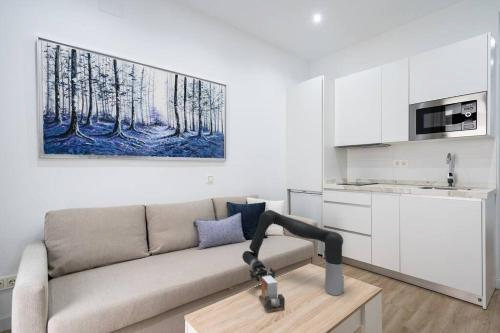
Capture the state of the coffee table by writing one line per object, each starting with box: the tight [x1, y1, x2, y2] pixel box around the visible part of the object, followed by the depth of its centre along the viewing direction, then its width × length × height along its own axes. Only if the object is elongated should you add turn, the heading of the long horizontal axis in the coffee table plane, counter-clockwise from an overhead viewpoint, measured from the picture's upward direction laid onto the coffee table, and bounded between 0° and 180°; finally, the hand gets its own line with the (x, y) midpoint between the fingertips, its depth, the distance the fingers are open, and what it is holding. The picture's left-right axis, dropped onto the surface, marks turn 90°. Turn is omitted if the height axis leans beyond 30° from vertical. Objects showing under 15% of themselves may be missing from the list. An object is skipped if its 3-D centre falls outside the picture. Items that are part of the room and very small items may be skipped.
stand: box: [258, 293, 286, 314], centre depth 126 cm, size 9×14×6 cm, turn 15°
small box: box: [261, 276, 278, 300], centre depth 128 cm, size 8×6×10 cm
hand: (266, 278), depth 134 cm, fingers open, 8 cm apart
